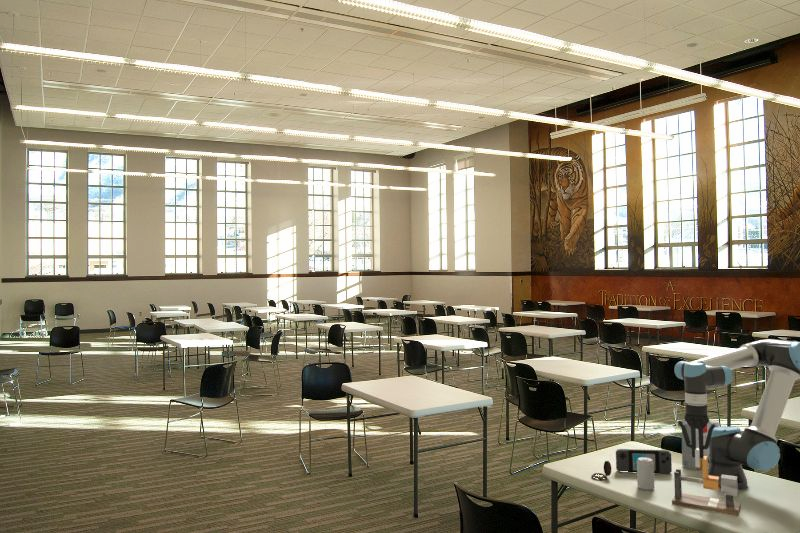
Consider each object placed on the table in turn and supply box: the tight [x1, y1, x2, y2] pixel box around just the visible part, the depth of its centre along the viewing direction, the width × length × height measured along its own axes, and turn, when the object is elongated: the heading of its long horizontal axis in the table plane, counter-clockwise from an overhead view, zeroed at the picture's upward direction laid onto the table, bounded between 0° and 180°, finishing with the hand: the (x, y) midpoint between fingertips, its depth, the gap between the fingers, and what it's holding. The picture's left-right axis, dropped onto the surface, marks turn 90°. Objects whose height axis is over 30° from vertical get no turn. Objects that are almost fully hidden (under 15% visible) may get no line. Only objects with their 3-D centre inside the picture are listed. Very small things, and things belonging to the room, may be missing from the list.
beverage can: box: [636, 457, 655, 492], centre depth 246 cm, size 6×6×12 cm
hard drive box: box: [681, 419, 720, 471], centre depth 272 cm, size 16×8×20 cm, turn 114°
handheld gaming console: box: [615, 448, 673, 475], centre depth 265 cm, size 23×3×10 cm, turn 80°
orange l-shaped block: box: [702, 456, 721, 492], centre depth 225 cm, size 5×5×11 cm
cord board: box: [671, 468, 741, 517], centre depth 226 cm, size 10×22×12 cm, turn 56°
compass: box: [591, 460, 612, 479], centre depth 259 cm, size 8×8×7 cm
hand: (698, 466), depth 228 cm, fingers closed
